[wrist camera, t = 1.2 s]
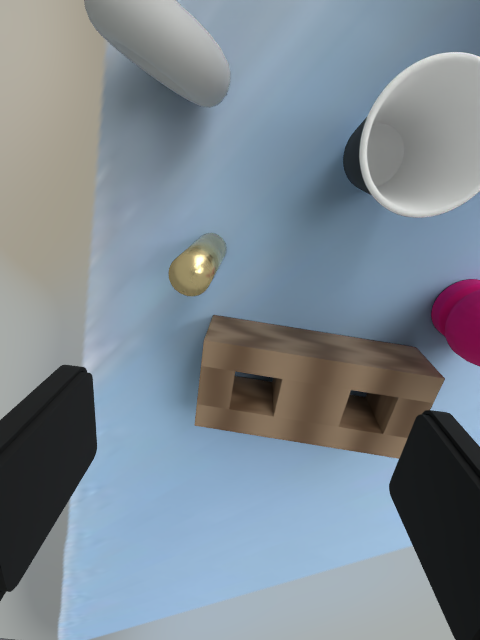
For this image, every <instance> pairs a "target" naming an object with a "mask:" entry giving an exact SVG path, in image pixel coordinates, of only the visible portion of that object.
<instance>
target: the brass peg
mask: <svg viewBox="0 0 480 640" xmlns="http://www.w3.org/2000/svg"><path fill="white" fill-rule="evenodd" d="M225 254H226V244H225V242H224V240H223V239H222V238H221V237H220V236H219V235H217V234H213V233H208V234H205V235H203V236H201V237H200V238H199V239H198V240H197V241H196V242H194V243H193V244H192V245H191V246H190V247H189V248H188V249H186V250H185V251H184V252H183V253H182V254H181V255H179V256H178V257H177V258H176V259H175V260H174V261H173V262H172V264H171V265H170V268H169V280H170V282H171V284H172V286H173V287H174V289H175V290H177V291H178V292H179V293H181V294H183V295H186V296H197V295H200V294H202V293H203V292H204V291H205V290H206V289H207V288H208V286H209V285H210V283H211V281H212V279H213V277H214V275H215V273H216V271H217V270H218V268H219V266H220V264H221V262H222V260H223V258H224V256H225Z"/></svg>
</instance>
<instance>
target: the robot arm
mask: <svg viewBox="0 0 480 640" xmlns="http://www.w3.org/2000/svg"><path fill="white" fill-rule="evenodd" d="M96 450H97V438H96V422H95V407H94V392H93V378H92V374H91V373H87V370H86V368H84V367H79V366H70V365H62V366H60V367H59V368H58V369H57V370H56V371H55V372H53V374H51V375H50V376H49V377H48V378H47V379H46V380H45V381H43V382H42V383H41V384H40V385H39V386H38V387H37V388H36V389H35V390H33V391H32V392H31V393H30V394H29V395H28V396H27V397H26V398H25V399H24V400H22V401H21V402H20V403H19V404H18V405H17V406H16V407H14V408H13V409H12V410H11V411H10V412H9V413H8V414H7V415H6V416H4V417H3V418H2V419H1V420H0V601H1V599H2V598H3V595H4V594H5V593H6V591H8V592H11V591H12V590H13V589H14V588H15V587H16V586H17V585H18V583H19V582H20V580H21V578H22V577H23V575H24V574H25V572H26V570H27V569H28V567H29V565H30V564H31V562H32V560H33V559H34V557H35V555H36V554H37V552H38V550H39V549H40V547H41V545H42V544H43V542H44V540H45V539H46V537H47V535H48V534H49V532H50V530H51V529H52V527H53V526H54V524H55V522H56V521H57V519H58V517H59V515H60V514H61V512H62V511H63V509H64V507H65V506H66V504H67V502H68V501H69V499H70V497H71V496H72V494H73V492H74V491H75V489H76V487H77V486H78V484H79V482H80V481H81V479H82V477H83V476H84V474H85V472H86V471H87V469H88V467H89V466H90V464H91V463H92V461H93V459H94V457H95V454H96ZM389 491H390V495H391V498H392V500H393V502H394V504H395V507H396V509H397V511H398V513H399V516H400V518H401V520H402V522H403V524H404V527H405V529H406V531H407V533H408V536H409V538H410V540H411V542H412V545H413V547H414V549H415V551H416V553H417V556H418V558H419V560H420V562H421V565H422V567H423V569H424V571H425V573H426V576H427V578H428V580H429V582H430V585H431V587H432V589H433V591H434V593H435V596H436V598H437V600H438V603H439V605H440V607H441V609H442V611H443V614H444V616H445V618H446V620H447V623H448V625H449V627H450V629H451V632H452V634H453V636H454V638H455V639H456V640H480V447H479V445H478V444H477V443H476V442H475V441H474V440H473V439H472V438H471V436H470V435H469V434H468V433H467V432H466V431H465V430H464V428H463V427H462V426H461V425H460V424H459V423H458V422H457V421H456V419H455V418H454V417H453V416H452V415H451V414H450V413H447V412H439V411H431V410H426V411H424V412H423V413H422V414H420V415H418V416H417V417H416V419H415V421H414V424H413V426H412V429H411V431H410V433H409V436H408V438H407V441H406V443H405V446H404V448H403V451H402V453H401V456H400V458H399V461H398V463H397V466H396V468H395V471H394V473H393V476H392V478H391V481H390V484H389ZM0 640H13V639H3V638H0Z"/></svg>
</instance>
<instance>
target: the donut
mask: <svg viewBox="0 0 480 640" xmlns="http://www.w3.org/2000/svg"><path fill="white" fill-rule="evenodd" d="M84 1H85V8H86V11H87V14H88V17H89V19H90V21H91V23H92V24H93V26H94V27H95V29H96V30H97V31H98V32H99V33H100V34H101V36H103V37H104V38H105V39H106V40H107V41H108V42H109V43H110V44H111V45H112V46H113V47H115V48H116V49H117V50H118V51H119V52H121V53H122V54H123V55H124V56H125V57H127V58H128V59H129V60H130V61H132V62H133V63H134V64H136V65H137V66H138V67H140V68H141V69H142V70H144V71H145V72H146V73H148V74H149V75H150V76H152V77H153V78H155V79H156V80H157V81H159V82H160V83H162V84H163V85H165V86H166V87H168V88H169V89H171V90H172V91H174V92H175V93H177V94H178V95H180V96H182V97H183V98H185V99H187V100H189V101H190V102H192V103H194V104H196V105H198V106H202V107H213V106H216V105H218V104H219V103H220V102H222V101H223V99H224V98H225V96H226V95H227V92H228V89H229V85H230V74H231V73H230V68H229V64H228V62H227V60H226V58H225V56H224V54H223V52H222V50H221V48H220V46H219V45H218V44H217V43H216V41H215V40H214V39H213V37H212V36H211V35H210V34H209V33H208V31H207V30H206V29H205V28H204V27H203V26H202V25H201V24H200V23H199V22H198V21H197V20H196V19H195V18H194V17H193V16H192V15H191V14H190V13H189V12H188V11H187V10H185V9H184V8H183V7H182V6H181V5H180V4H179V3H178V2H177V1H176V0H84Z"/></svg>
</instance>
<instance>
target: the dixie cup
mask: <svg viewBox="0 0 480 640" xmlns="http://www.w3.org/2000/svg"><path fill="white" fill-rule="evenodd" d="M343 164H344V170H345V173H346V175H347V177H348V179H349V180H350V181H351V183H352V184H353V185H355V186H356V187H358V188H360V189H361V190H363V191H365V192H367V193H369V194H370V195H372V196H373V197H374V198H375V199H376V201H377V202H379V203H380V204H381V205H382V206H383V207H385V208H386V209H388V210H390V211H391V212H394V213H396V214H399V215H402V216H406V217H415V218H423V217H431V216H436V215H439V214H442V213H445V212H448V211H450V210H453V209H455V208H457V207H459V206H460V205H462V204H463V203H465V202H467V201H468V200H469V199H471V198H472V197H473V196H474V195H476V194H477V193H478V192H479V191H480V57H479V56H476V55H473V54H469V53H463V52H447V53H441V54H436V55H433V56H430V57H427V58H425V59H422V60H420V61H418V62H416V63H414V64H413V65H411V66H409V67H408V68H406V69H405V70H404V71H402V72H401V73H400V74H399V75H397V76H396V77H395V78H394V79H393V80H392V81H391V82H390V83H389V84H388V85H387V86H386V87H385V89H384V90H383V91H382V92H381V94H380V95H379V97H378V98H377V100H376V101H375V103H374V105H373V106H372V108H371V110H370V112H369V114H368V116H367V117H366V118H365V120H364V121H363V122H362V123H361V124H360V126H359V127H358V128H357V129H356V130H355V132H354V133H353V134H352V135H351V137H350V139H349V140H348V142H347V145H346V147H345V151H344V157H343Z"/></svg>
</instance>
